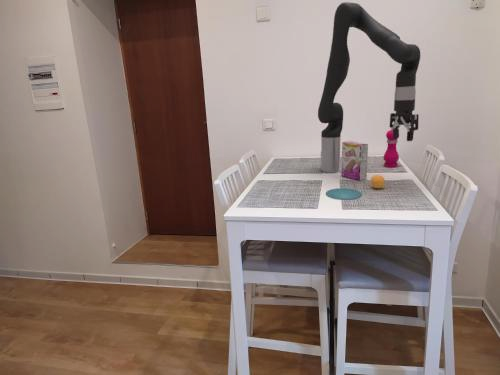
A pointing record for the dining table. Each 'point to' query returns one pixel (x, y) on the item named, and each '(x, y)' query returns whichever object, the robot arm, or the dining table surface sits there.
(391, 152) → the pepper mill
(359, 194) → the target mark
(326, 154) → the robot arm
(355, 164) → the candy bar box
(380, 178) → the ball
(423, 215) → the dining table surface
